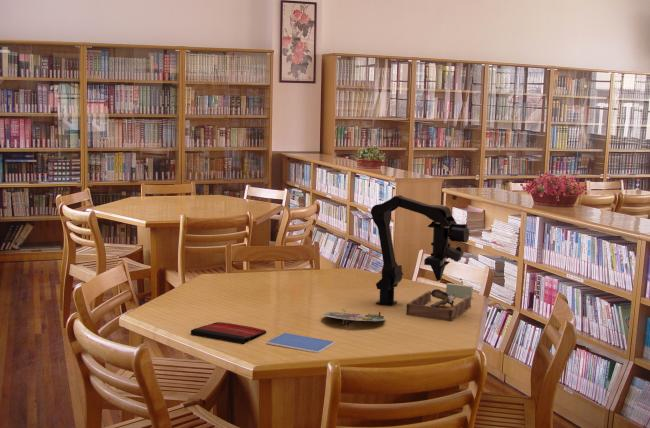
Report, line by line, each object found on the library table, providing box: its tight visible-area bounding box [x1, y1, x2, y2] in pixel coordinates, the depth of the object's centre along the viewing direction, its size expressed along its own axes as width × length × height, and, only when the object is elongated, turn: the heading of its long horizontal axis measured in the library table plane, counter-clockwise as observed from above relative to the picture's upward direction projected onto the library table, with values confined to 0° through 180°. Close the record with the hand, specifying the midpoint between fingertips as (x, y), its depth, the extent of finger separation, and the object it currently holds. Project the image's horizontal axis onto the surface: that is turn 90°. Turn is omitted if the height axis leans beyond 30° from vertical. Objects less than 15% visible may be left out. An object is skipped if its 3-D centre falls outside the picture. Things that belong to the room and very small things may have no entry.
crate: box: [405, 290, 472, 322], centre depth 299 cm, size 25×17×4 cm
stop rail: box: [445, 282, 474, 300], centre depth 321 cm, size 2×10×5 cm, turn 64°
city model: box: [322, 308, 386, 328], centre depth 282 cm, size 25×23×6 cm
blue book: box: [266, 332, 336, 354], centre depth 253 cm, size 19×13×1 cm, turn 64°
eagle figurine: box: [430, 288, 456, 308], centre depth 305 cm, size 8×7×9 cm
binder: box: [190, 321, 267, 345], centre depth 263 cm, size 16×2×21 cm
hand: (438, 280), depth 296 cm, fingers closed
